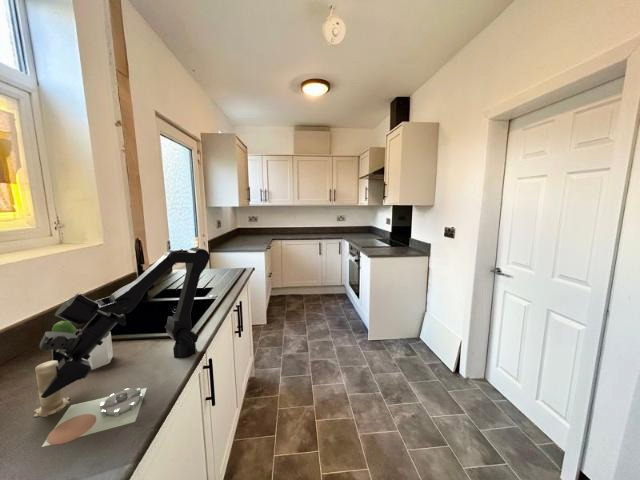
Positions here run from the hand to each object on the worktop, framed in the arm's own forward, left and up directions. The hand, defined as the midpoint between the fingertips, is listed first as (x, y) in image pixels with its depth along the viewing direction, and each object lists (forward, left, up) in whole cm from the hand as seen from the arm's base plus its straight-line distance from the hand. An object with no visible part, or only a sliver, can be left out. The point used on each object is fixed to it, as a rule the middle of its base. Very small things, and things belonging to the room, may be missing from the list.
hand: (41, 388), depth 65 cm
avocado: (+10, -36, -7) cm, 38 cm away
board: (-14, +7, -7) cm, 17 cm away
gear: (-18, +5, -6) cm, 19 cm away
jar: (-3, -23, -7) cm, 24 cm away
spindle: (-1, -1, -7) cm, 7 cm away
